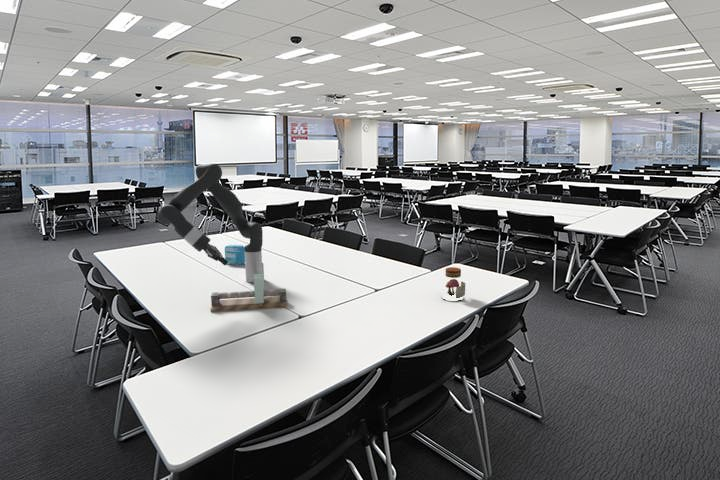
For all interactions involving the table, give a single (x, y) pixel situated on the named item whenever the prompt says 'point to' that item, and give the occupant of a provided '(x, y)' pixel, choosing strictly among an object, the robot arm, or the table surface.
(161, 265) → the table surface
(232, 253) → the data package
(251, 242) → the robot arm
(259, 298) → the pale green rectangular block
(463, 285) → the jar with lid
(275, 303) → the pipe stand
